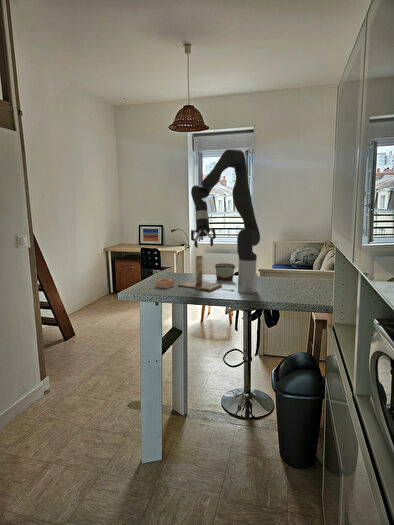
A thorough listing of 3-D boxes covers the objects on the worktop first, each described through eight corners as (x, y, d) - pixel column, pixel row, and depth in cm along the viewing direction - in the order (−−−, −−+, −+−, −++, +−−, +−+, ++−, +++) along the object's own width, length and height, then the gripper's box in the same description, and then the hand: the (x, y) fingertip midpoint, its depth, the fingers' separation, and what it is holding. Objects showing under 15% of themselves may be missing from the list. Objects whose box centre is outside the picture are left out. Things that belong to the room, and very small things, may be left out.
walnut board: (221, 286, 198) (221, 284, 198) (210, 292, 186) (210, 289, 185) (190, 282, 207) (190, 280, 207) (177, 287, 195) (177, 284, 195)
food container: (234, 279, 218) (235, 263, 216) (234, 281, 212) (235, 265, 210) (214, 278, 219) (215, 262, 217) (214, 280, 213) (214, 264, 211)
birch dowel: (203, 284, 196) (203, 255, 194) (200, 285, 193) (200, 256, 191) (197, 283, 198) (198, 255, 195) (194, 284, 195) (194, 256, 192)
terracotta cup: (173, 286, 196) (173, 279, 195) (166, 289, 190) (166, 282, 189) (163, 285, 200) (163, 278, 199) (155, 287, 193) (155, 280, 193)
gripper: (188, 219, 203) (190, 247, 201) (213, 216, 200) (215, 244, 199) (191, 222, 210) (193, 248, 208) (215, 219, 208) (217, 246, 206)
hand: (204, 246), depth 204 cm, fingers open, 8 cm apart
